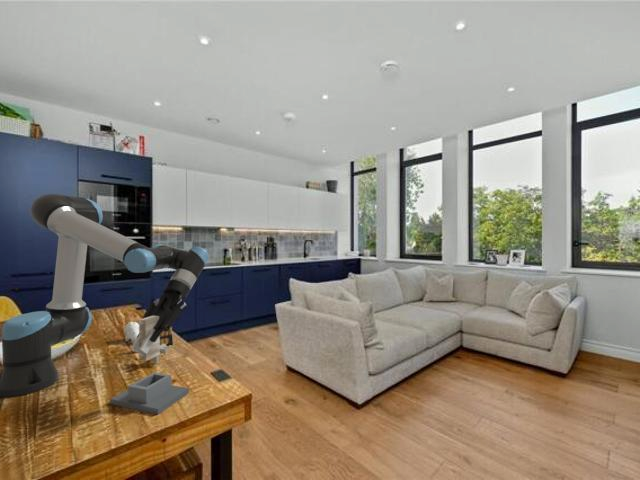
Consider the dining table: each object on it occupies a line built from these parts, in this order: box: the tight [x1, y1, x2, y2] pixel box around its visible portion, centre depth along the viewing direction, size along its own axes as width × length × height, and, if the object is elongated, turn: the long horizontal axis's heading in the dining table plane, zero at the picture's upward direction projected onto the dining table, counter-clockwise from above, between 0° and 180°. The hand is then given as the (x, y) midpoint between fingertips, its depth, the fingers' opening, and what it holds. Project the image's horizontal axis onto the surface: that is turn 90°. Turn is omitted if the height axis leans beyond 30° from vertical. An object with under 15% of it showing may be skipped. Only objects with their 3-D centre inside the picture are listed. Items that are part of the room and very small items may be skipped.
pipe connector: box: [152, 344, 169, 365], centre depth 118 cm, size 10×10×10 cm
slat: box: [138, 316, 161, 362], centre depth 92 cm, size 2×5×12 cm, turn 162°
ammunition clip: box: [160, 325, 174, 347], centre depth 134 cm, size 11×2×12 cm, turn 133°
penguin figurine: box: [123, 321, 139, 345], centre depth 142 cm, size 6×8×12 cm
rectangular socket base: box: [109, 371, 190, 415], centre depth 93 cm, size 18×12×6 cm, turn 72°
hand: (138, 350), depth 89 cm, fingers closed on slat, 2 cm apart
